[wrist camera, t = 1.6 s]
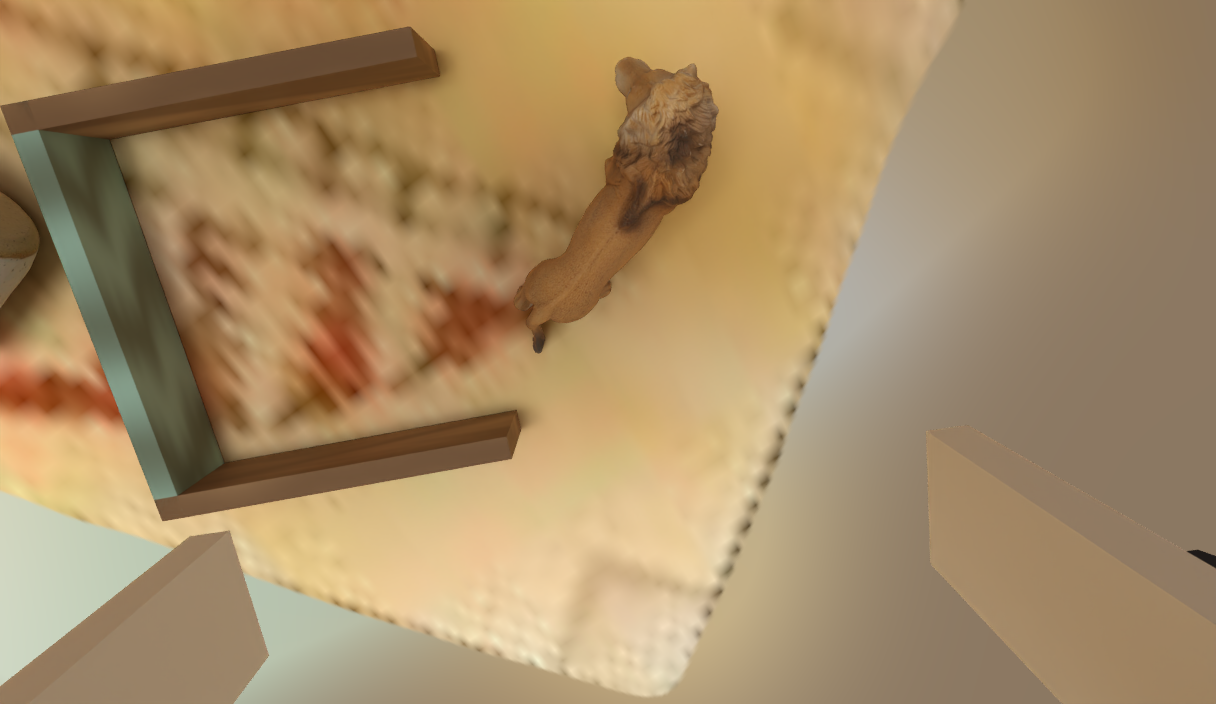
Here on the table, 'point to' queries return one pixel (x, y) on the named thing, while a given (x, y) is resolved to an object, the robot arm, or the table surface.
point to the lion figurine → (628, 191)
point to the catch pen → (134, 299)
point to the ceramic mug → (15, 245)
